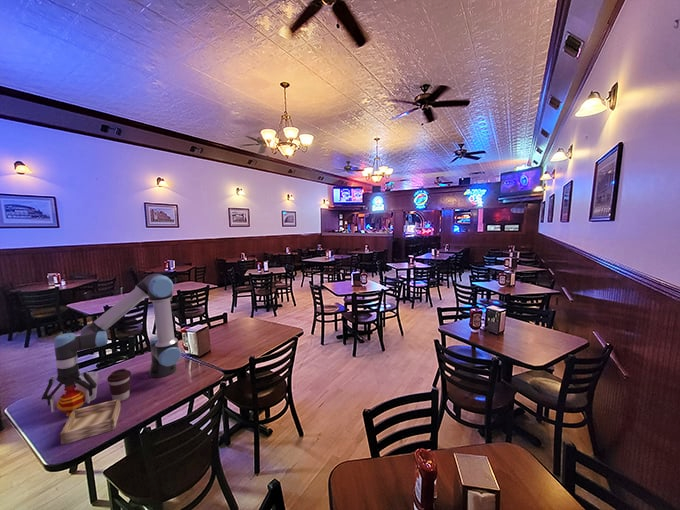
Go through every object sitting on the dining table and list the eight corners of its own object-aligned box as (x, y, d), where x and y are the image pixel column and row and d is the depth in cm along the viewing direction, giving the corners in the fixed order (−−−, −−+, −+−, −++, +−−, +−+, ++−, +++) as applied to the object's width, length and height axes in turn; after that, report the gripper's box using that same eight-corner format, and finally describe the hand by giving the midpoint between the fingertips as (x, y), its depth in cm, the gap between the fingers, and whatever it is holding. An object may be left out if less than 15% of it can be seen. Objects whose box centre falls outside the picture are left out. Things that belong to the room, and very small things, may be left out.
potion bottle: (70, 406, 145) (67, 379, 144) (92, 405, 146) (89, 378, 144) (51, 420, 135) (48, 391, 133) (74, 419, 136) (71, 390, 134)
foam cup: (86, 405, 146) (83, 382, 145) (72, 403, 148) (69, 380, 147) (104, 394, 156) (102, 372, 154) (91, 392, 157) (89, 370, 156)
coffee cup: (136, 394, 156) (134, 369, 154) (117, 405, 146) (115, 378, 145) (124, 391, 159) (122, 366, 157) (105, 401, 150) (102, 374, 148)
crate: (120, 407, 145) (119, 398, 144) (114, 429, 129) (113, 419, 129) (73, 420, 136) (72, 409, 135) (61, 445, 120) (60, 433, 120)
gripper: (101, 356, 147) (105, 394, 150) (35, 368, 135) (40, 410, 137) (98, 362, 141) (102, 402, 143) (28, 375, 128) (33, 419, 131)
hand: (71, 406), depth 140 cm, fingers open, 12 cm apart
